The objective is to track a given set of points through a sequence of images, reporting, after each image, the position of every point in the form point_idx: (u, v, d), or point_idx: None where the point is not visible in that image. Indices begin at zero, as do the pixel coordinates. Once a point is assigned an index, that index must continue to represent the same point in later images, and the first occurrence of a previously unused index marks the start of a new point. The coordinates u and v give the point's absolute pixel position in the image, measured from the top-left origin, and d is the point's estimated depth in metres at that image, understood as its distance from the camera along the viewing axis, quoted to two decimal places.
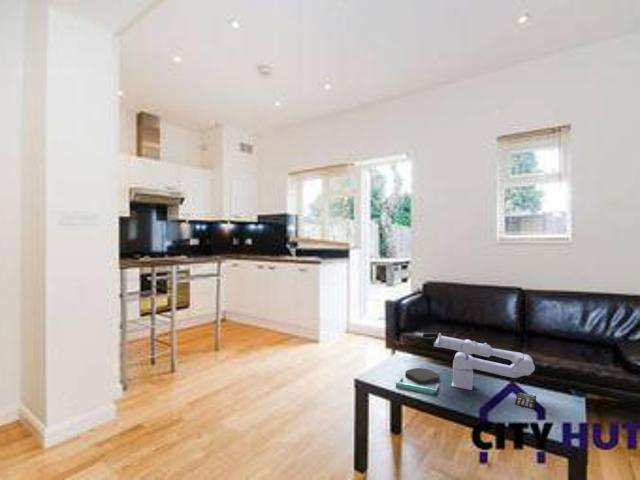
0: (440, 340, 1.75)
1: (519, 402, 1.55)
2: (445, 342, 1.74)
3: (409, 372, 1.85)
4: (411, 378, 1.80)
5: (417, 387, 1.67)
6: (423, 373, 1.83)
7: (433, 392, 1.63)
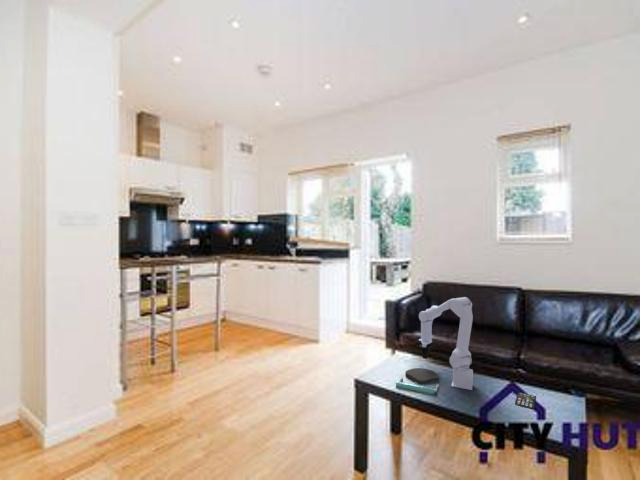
0: (423, 340, 1.92)
1: (519, 402, 1.55)
2: (424, 336, 1.92)
3: (409, 372, 1.85)
4: (411, 378, 1.80)
5: (417, 387, 1.67)
6: (423, 373, 1.83)
7: (433, 392, 1.63)
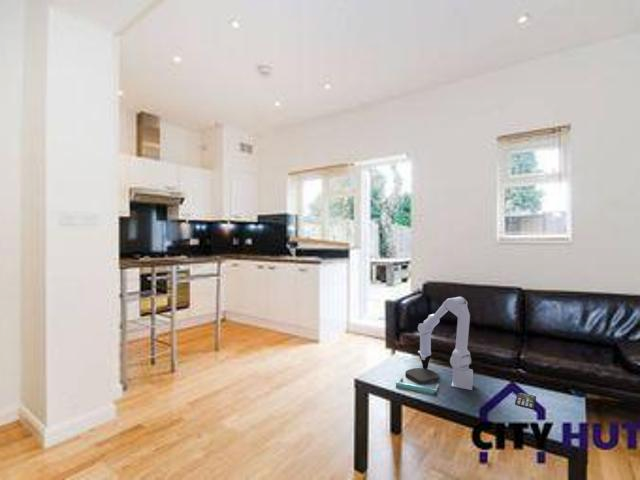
0: (422, 352, 1.90)
1: (519, 402, 1.55)
2: (423, 348, 1.89)
3: (409, 372, 1.85)
4: (411, 378, 1.80)
5: (417, 387, 1.67)
6: (423, 373, 1.83)
7: (433, 392, 1.63)
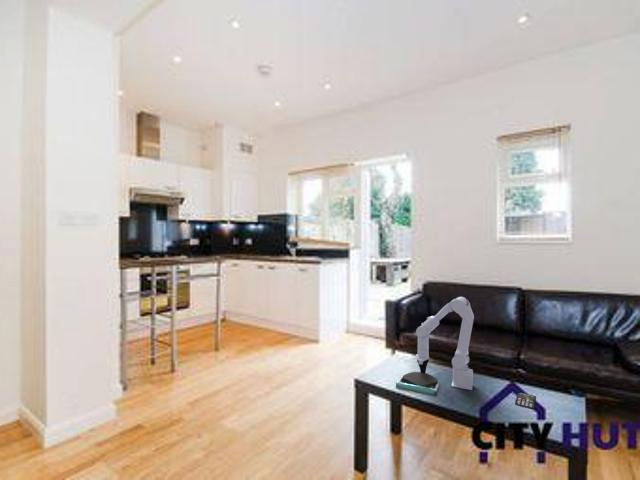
0: (420, 356, 1.84)
1: (519, 402, 1.55)
2: (420, 352, 1.83)
3: (406, 377, 1.78)
4: (409, 383, 1.73)
5: (417, 387, 1.67)
6: (421, 377, 1.76)
7: (433, 392, 1.63)
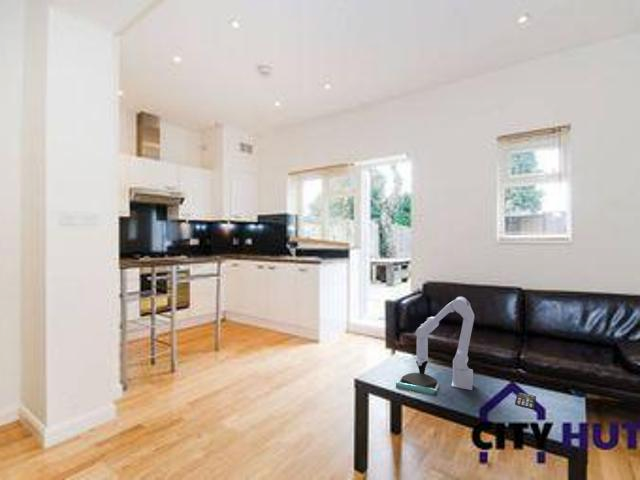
0: (418, 357, 1.82)
1: (519, 402, 1.55)
2: (419, 353, 1.81)
3: (406, 378, 1.76)
4: None
5: (417, 387, 1.67)
6: (420, 378, 1.75)
7: (433, 392, 1.63)
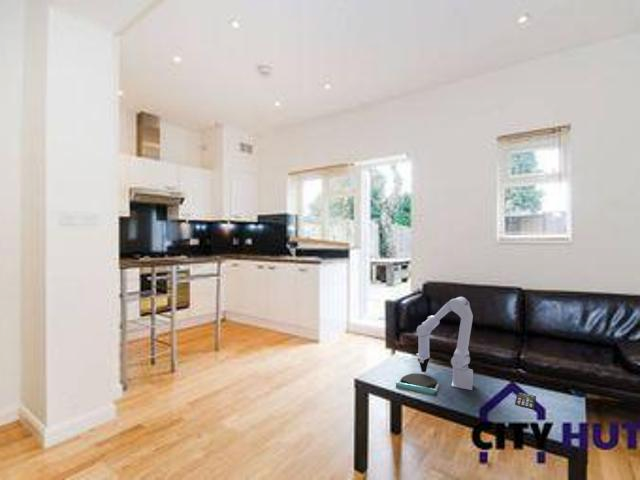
0: (420, 355, 1.86)
1: (519, 402, 1.55)
2: (421, 351, 1.85)
3: (406, 378, 1.76)
4: None
5: (417, 387, 1.67)
6: (420, 379, 1.75)
7: (433, 392, 1.63)
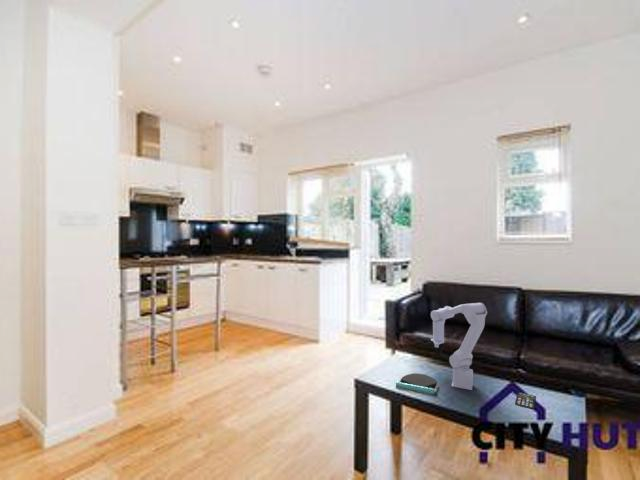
0: (435, 339, 1.86)
1: (519, 402, 1.55)
2: (436, 335, 1.86)
3: (406, 378, 1.76)
4: None
5: (417, 387, 1.67)
6: (420, 379, 1.75)
7: (433, 392, 1.63)
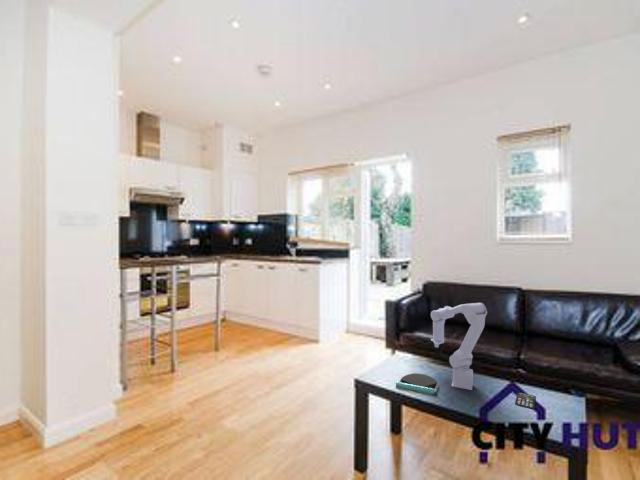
0: (435, 339, 1.86)
1: (519, 402, 1.55)
2: (436, 335, 1.86)
3: (406, 378, 1.76)
4: None
5: (417, 387, 1.67)
6: (420, 379, 1.75)
7: (433, 392, 1.63)
